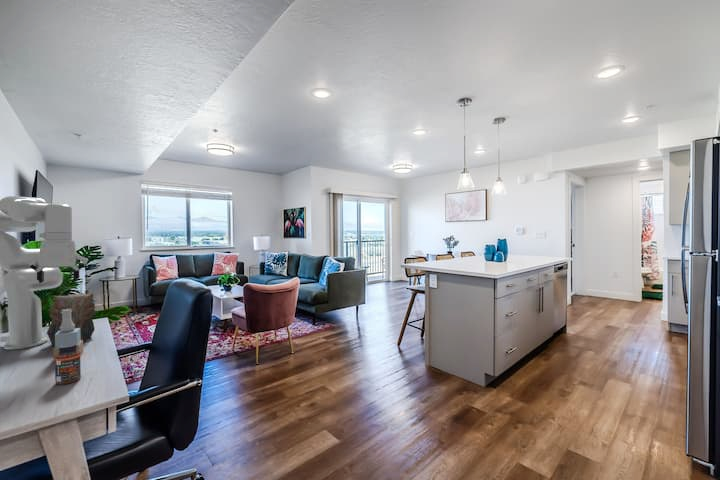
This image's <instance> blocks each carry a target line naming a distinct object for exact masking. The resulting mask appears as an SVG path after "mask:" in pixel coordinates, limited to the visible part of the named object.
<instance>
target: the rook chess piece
mask: <svg viewBox="0 0 720 480" xmlns="http://www.w3.org/2000/svg"><path fill="white" fill-rule="evenodd" d="M71 312H72V310H71V309H70V308H69V309H66V310H65V309H63V310H62V312H61V313H62V325H61V326H60V329H61V330H60V332H67V331H72V330H74V329H75V327H74V326H75V324H73V322H72V319H71Z"/></svg>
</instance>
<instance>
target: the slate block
mask: <svg viewBox="0 0 720 480" xmlns="http://www.w3.org/2000/svg"><path fill="white" fill-rule="evenodd" d="M80 341H81V334H80V328H75V329H74V330H72V331H67V332H60V330H59V331H58V332H57V333H56V334H55V346H54V348H55V349H56V348H59V347H60V346H62V345H65V344H70V343H75V344H76V345H78V344H79V342H80Z"/></svg>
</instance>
